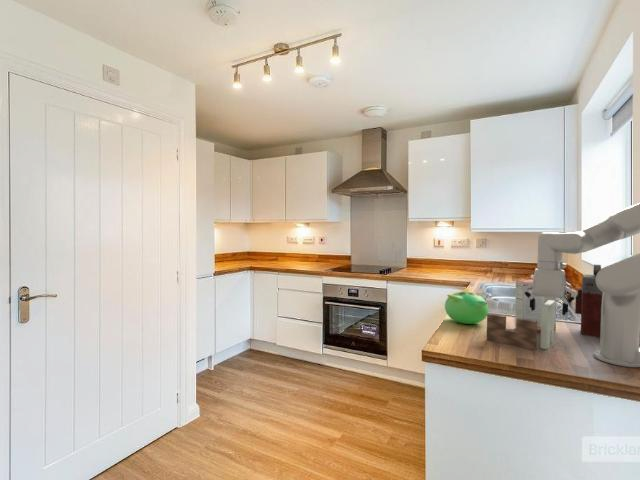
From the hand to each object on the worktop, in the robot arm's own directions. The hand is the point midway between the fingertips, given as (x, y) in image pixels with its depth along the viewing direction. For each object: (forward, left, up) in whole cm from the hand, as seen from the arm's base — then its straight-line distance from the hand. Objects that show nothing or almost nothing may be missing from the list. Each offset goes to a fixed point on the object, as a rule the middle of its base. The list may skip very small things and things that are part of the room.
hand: (548, 312), depth 127 cm
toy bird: (+32, -7, -12) cm, 35 cm away
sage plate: (0, 0, -12) cm, 12 cm away
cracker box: (+7, -16, -12) cm, 21 cm away
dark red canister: (-11, -26, -12) cm, 31 cm away
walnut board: (+10, +10, -12) cm, 18 cm away
